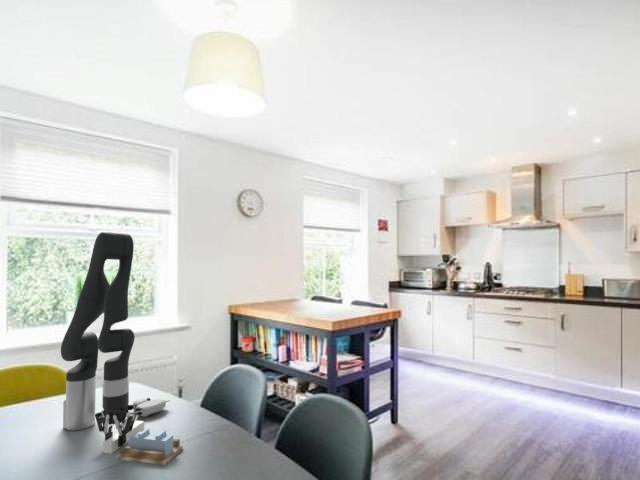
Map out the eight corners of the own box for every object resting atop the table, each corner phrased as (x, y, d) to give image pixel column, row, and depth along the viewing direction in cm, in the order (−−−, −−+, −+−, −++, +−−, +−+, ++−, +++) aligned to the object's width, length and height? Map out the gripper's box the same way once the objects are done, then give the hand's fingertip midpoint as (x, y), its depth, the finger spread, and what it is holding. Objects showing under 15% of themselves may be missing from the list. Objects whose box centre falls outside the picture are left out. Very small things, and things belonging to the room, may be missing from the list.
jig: (117, 459, 118) (117, 449, 118) (138, 444, 127) (138, 434, 127) (164, 465, 115) (164, 454, 115) (182, 448, 124) (182, 439, 124)
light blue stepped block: (125, 451, 121) (125, 432, 121) (134, 445, 125) (134, 427, 125) (165, 456, 118) (165, 437, 118) (173, 449, 122) (173, 431, 122)
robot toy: (120, 415, 152) (142, 421, 144) (120, 403, 153) (142, 409, 144) (149, 405, 162) (171, 410, 154) (148, 394, 163) (171, 398, 155)
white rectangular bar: (103, 453, 122) (103, 442, 122) (136, 430, 138) (136, 420, 138) (111, 454, 122) (111, 443, 122) (144, 431, 137) (144, 421, 137)
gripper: (142, 389, 128) (142, 441, 128) (105, 386, 131) (104, 437, 131) (127, 397, 121) (126, 453, 120) (87, 394, 124) (87, 448, 123)
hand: (115, 444), depth 125 cm, fingers open, 4 cm apart
